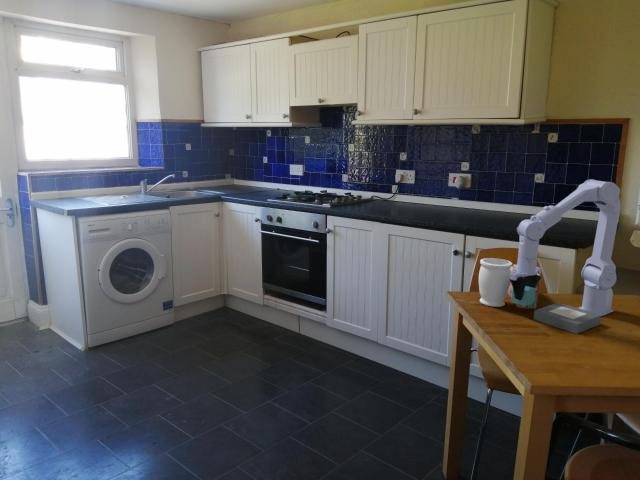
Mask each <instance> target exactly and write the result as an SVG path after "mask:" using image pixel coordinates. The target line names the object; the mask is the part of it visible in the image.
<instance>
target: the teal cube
mask: <svg viewBox="0 0 640 480" xmlns="http://www.w3.org/2000/svg"><path fill="white" fill-rule="evenodd" d="M535 291H536V289H535V288H532V287H528V286H525V289H524V293H523V297H522V300H518V299H515V296H514V290H513V291H512V298H511V303H514V304H515V303H517V304H520V305H523V306H527V305H530V304H533V303H534V300H535Z"/></svg>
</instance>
